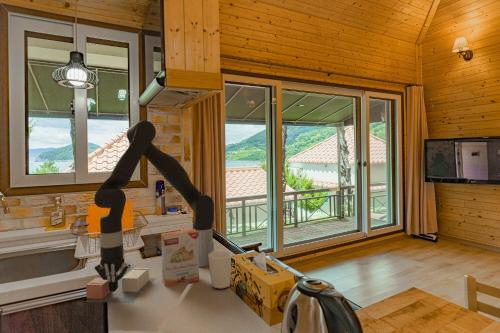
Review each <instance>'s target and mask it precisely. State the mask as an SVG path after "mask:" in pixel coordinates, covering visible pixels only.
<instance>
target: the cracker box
mask: <svg viewBox="0 0 500 333" xmlns="http://www.w3.org/2000/svg"><path fill="white" fill-rule="evenodd" d="M160 234H161V235H160V236H161V276H162V277H161V278H162V279H161V281H162V284H163V285H164V287H168V286H173V285H177V284H182V283H186V282H187V283H188V284H194V283H198V282H200V267H199V233H198V232H197V231H196V230H195V229H193V228H191V229H185V230H178V231H177V230H175V231H170V232H169V231H168V232H163V233H162V232H161V233H160Z"/></svg>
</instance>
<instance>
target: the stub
mask: <svg viewBox="0 0 500 333" xmlns="http://www.w3.org/2000/svg"><path fill="white" fill-rule="evenodd" d="M85 292H86V295H85V296H86V299H89V298H91V299H103V298H104V297H105V296H107V295H108V294H109V293H110V290H109V287H108V281H107V280H103V279H102V278H101V277H95V278H93V279H92V280H91V281H90V282H88V283H86V284H85Z"/></svg>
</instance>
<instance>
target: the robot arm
mask: <svg viewBox="0 0 500 333" xmlns="http://www.w3.org/2000/svg"><path fill="white" fill-rule="evenodd" d="M156 129H157V128H156V127H155V125H154V124H153V123H152V122H150V121H148V120H140V121H137V122H136V123H135V124H133V125H131V126H130V127H129V128H127V130H126V138H127V140H128V142H129V143H130V144H129V146H128V147H127V149H126V150H125V152H124V153H122V155H121V156H120V157H119V159H118V161H117V162H116V164H114V165H115V166H114V168H112V171H111V173H110V175H109V177H107V179H106V180H104V182H103V183H102V184H101V185H100V186H99V187H98V188H97V190H96V191H95V194H94V204H95V206H96V207H98V208H101V209H109V213H108V214H105V215H103V216H101V217H100V221H99V228H100V235H99V245H100V246H99V248H100V249H99V251H100V254H99V255H100V261H99V264H96V265H95V266H94V270H95V272H97V274H98V275H99V277H100V278H102V279H103V280H107V281H108V287H109V290H110V292H115V291H116V290H117V288H118V280H120V279H121V278H122V277H124V276H125V275H126V274H127V273H128V271H129V269H130V268H131V264H130V263H129V264H127V263H126V261H125V262H124V259H123V248H124V235H123V224H122V223H123V222H122V221H123V220H122V219H123V214H124V210H125V207H126V202H127V196H126V194H125V192H124V190H122V188H125V187H127V186H128V185H129V183H130V181H131V179H132V177H133V175H134V173H135V170H136V168H137V166H138V164H139V162H140V161H141V158H142V157H145V159H147V160H148V161H149V162H150V164H152V166H153V167H154V168H155V169H156V171H158V172H159V174H160V175H161V176H162V177H163V178H164V179H165V180H166V181H167V183H168V184H170V185H171V187H173V188H174V190H175V191H177V192H178V193H179V194H180V195H181V197H183V199H184V200H185V202H186V203H187V204H188V206H189V208H191V210H192V211H193V212H194V213H195V221H193V222H192V229H195V230H196V231H197V232H198V233H199V268H205V267H210V266H209V258H208V254H209V253H211V252H214V251H215V243H214V241H213V240H214V239H213V225H214V220H215V203H214V199H213V198H212V197H211V196H210V195H207V194H204V193H202V192H201V191H199V190H198V188H197V187H196V186H194V184H193V183H192V181H191V179H190V177H189V174H188V173H187V171H186V169H185V168H184V167H183V165H182V164H181V163H180V162H179V161H178V160H177V159H176V158H175V157H173V156H172V155H170V154H167V153H166V152H164V151H162V150H160V149H158V148H157V146H156V145H155V144H153V140H154V139H155V137H156V135H157V130H156ZM120 269H121V271H120Z"/></svg>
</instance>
